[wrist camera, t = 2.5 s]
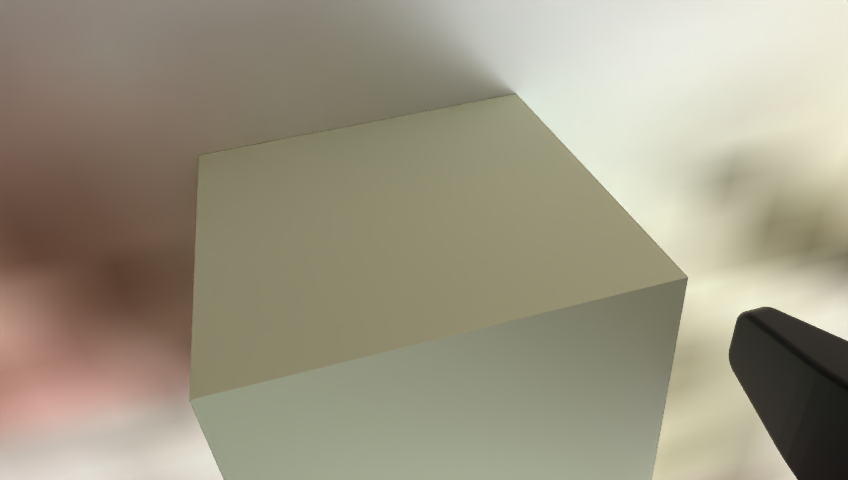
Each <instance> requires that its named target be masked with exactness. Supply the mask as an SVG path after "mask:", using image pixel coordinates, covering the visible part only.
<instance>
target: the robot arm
mask: <svg viewBox="0 0 848 480" xmlns="http://www.w3.org/2000/svg"><path fill="white" fill-rule="evenodd" d="M729 361H730V365H731V368H732V370H733V372H734V373H735V375H736V377H737V379H738V380H739V382H740V384H741V386H742V387H743V389H744V391H745V393H746V394H747V396H748V398H749V400H750V401H751V403H752V405H753V407H754V409H755V410H756V412H757V414H758V416H759V417H760V419H761V421H762V423H763V424H764V426H765V428H766V430H767V431H768V433H769V435H770V437H771V438H772V440H773V442H774V444H775V445H776V447H777V449H778V450H779V452H780V454H781V455H782V457H783V459H784V460H785V462H786V463H787V465H788V466H789V468H790V469H791V471H792V472H793V474H794V475H795V476H796V478H797V479H798V480H848V341H846V340H844V339H842V338H840V337H837V336H835V335H833V334H831V333H828V332H826V331H824V330H822V329H819V328H817V327H815V326H813V325H810V324H808V323H806V322H804V321H801V320H799V319H797V318H795V317H792V316H790V315H788V314H786V313H783V312H781V311H779V310H777V309H774V308H771V307H761V308H757V309H753V310H749V311H745V312H743V313H741V314H740V315H739V316H738V318H737V321H736V325H735V329H734V333H733V337H732V341H731V345H730V349H729Z"/></svg>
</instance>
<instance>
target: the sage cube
mask: <svg viewBox="0 0 848 480" xmlns="http://www.w3.org/2000/svg"><path fill="white" fill-rule="evenodd" d="M687 280H688V277H687V276H686V274H685V273H684V272H683V271H682V270H681V269H680V268H679V267H678V266H677V265H676V264H675V263H674V262H673V261H672V260H671V258H670V257H669V256H668V255H667V254H666V253H665V252H664V251H663V250H662V249H661V248H660V247H659V246H658V245H657V243H656V242H655V241H654V240H653V239H652V238H651V237H650V236H649V235H648V234H647V233H646V232H645V231H644V230H643V229H642V227H641V226H640V225H639V224H638V223H637V222H636V221H635V220H634V219H633V218H632V217H631V216H630V215H629V214H628V212H627V211H626V210H625V209H624V208H623V207H622V206H621V205H620V204H619V203H618V202H617V201H616V200H615V199H614V197H613V196H612V195H611V194H610V193H609V192H608V191H607V190H606V189H605V188H604V187H603V186H602V185H601V184H600V183H599V181H598V180H597V179H596V178H595V177H594V176H593V175H592V174H591V173H590V172H589V171H588V170H587V169H586V168H585V166H584V165H583V164H582V163H581V162H580V161H579V160H578V159H577V158H576V157H575V156H574V155H573V154H572V153H571V152H570V150H569V149H568V148H567V147H566V146H565V145H564V144H563V143H562V142H561V141H560V140H559V139H558V138H557V137H556V135H555V134H554V133H553V132H552V131H551V130H550V129H549V128H548V127H547V126H546V125H545V124H544V123H543V122H542V121H541V119H540V118H539V117H538V116H537V115H536V114H535V113H534V112H533V111H532V110H531V109H530V108H529V107H528V106H527V104H526V103H525V102H524V101H523V100H522V99H521V98H520V97H519V96H518V95H517V94H512V95H507V96H502V97H497V98H492V99H487V100H482V101H476V102H471V103H466V104H461V105H456V106H451V107H446V108H440V109H435V110H430V111H425V112H420V113H415V114H409V115H404V116H399V117H394V118H389V119H384V120H379V121H373V122H368V123H363V124H358V125H353V126H348V127H343V128H337V129H332V130H327V131H322V132H317V133H312V134H307V135H301V136H296V137H291V138H286V139H281V140H276V141H271V142H265V143H260V144H255V145H250V146H245V147H240V148H235V149H229V150H224V151H219V152H214V153H209V154H204V155H199V159H198V185H197V211H196V237H195V263H194V289H193V315H192V341H191V367H190V393H189V401H190V403H191V405H192V408H193V410H194V412H195V415H196V417H197V419H198V421H199V424H200V426H201V428H202V431H203V433H204V435H205V438H206V440H207V442H208V444H209V447H210V449H211V451H212V454H213V456H214V458H215V460H216V463H217V465H218V467H219V470H220V472H221V474H222V476H223V479H224V480H652V475H653V470H654V464H655V458H656V453H657V447H658V442H659V436H660V431H661V425H662V419H663V414H664V408H665V403H666V397H667V392H668V386H669V380H670V375H671V369H672V364H673V358H674V352H675V347H676V341H677V336H678V330H679V325H680V319H681V313H682V308H683V302H684V297H685V291H686V286H687Z"/></svg>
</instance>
